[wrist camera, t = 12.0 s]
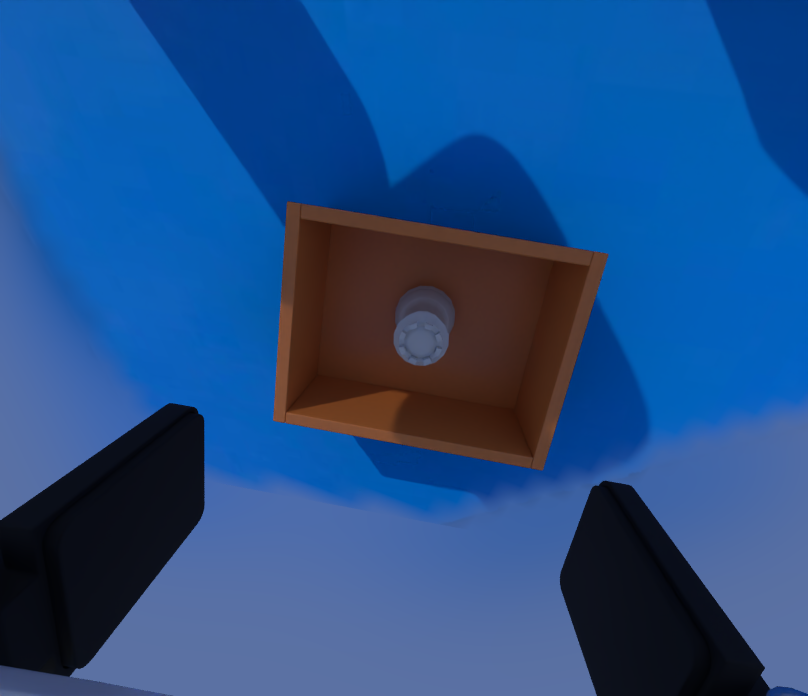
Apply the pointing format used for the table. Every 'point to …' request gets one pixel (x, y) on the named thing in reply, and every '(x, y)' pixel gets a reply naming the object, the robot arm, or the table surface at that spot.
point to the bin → (468, 340)
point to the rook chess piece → (423, 325)
